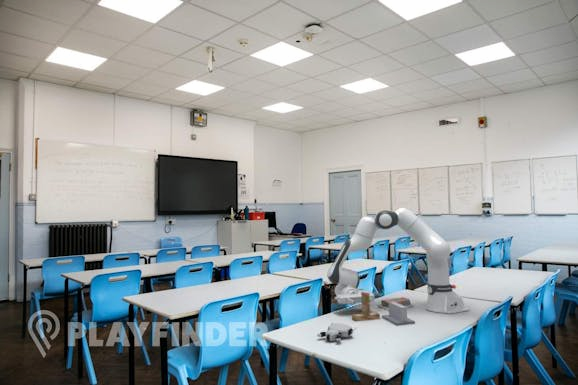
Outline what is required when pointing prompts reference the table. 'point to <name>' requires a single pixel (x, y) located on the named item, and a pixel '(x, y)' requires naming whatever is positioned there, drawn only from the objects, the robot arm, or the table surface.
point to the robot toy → (337, 332)
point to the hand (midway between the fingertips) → (362, 301)
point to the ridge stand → (397, 314)
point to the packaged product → (401, 301)
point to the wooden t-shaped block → (365, 310)
